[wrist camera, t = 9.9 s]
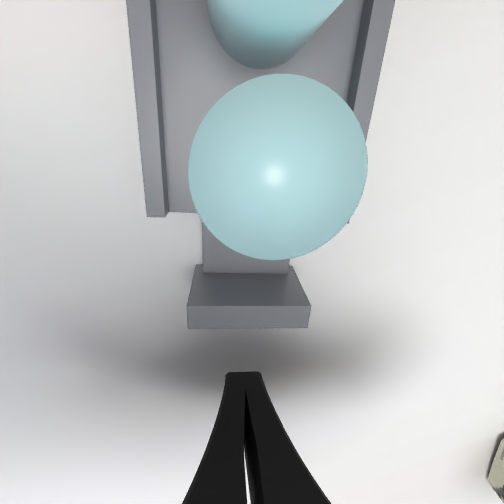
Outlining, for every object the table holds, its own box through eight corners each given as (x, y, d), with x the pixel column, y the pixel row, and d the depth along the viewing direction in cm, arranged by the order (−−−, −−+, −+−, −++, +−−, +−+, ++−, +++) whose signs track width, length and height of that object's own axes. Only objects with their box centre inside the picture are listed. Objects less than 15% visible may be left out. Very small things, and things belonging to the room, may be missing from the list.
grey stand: (319, 284, 11) (389, 403, 6) (164, 283, 10) (110, 412, 6) (381, -60, 7) (711, -464, 2) (134, -95, 6) (-137, -751, 2)
